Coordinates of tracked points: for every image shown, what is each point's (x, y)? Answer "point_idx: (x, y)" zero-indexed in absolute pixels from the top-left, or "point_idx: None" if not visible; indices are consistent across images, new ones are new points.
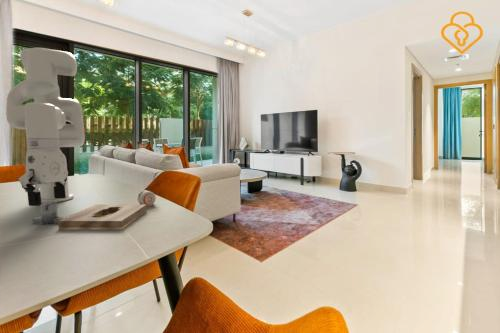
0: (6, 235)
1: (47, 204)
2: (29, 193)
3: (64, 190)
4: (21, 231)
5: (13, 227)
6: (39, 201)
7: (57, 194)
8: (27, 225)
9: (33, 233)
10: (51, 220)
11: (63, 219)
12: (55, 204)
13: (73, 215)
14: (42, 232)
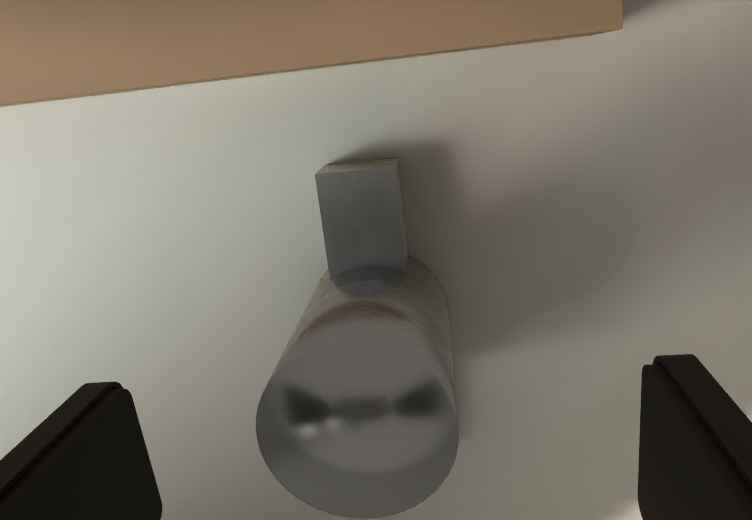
0: (749, 406)
1: (402, 417)
2: None
3: (13, 464)
4: None
5: (538, 515)
6: (717, 390)
7: (118, 517)
8: (479, 449)
9: (708, 211)
10: (419, 278)
11: (558, 5)
12: (343, 336)
13: (371, 13)
14: (682, 143)
